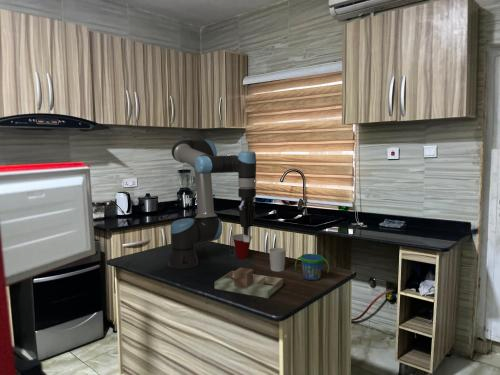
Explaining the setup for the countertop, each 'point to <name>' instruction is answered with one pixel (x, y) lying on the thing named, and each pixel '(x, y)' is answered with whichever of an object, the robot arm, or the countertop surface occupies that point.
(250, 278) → the walnut block
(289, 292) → the countertop surface
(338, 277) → the countertop surface
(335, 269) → the countertop surface
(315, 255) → the snack cup
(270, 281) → the frame
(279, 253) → the white cup
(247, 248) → the plastic cup
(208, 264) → the countertop surface
